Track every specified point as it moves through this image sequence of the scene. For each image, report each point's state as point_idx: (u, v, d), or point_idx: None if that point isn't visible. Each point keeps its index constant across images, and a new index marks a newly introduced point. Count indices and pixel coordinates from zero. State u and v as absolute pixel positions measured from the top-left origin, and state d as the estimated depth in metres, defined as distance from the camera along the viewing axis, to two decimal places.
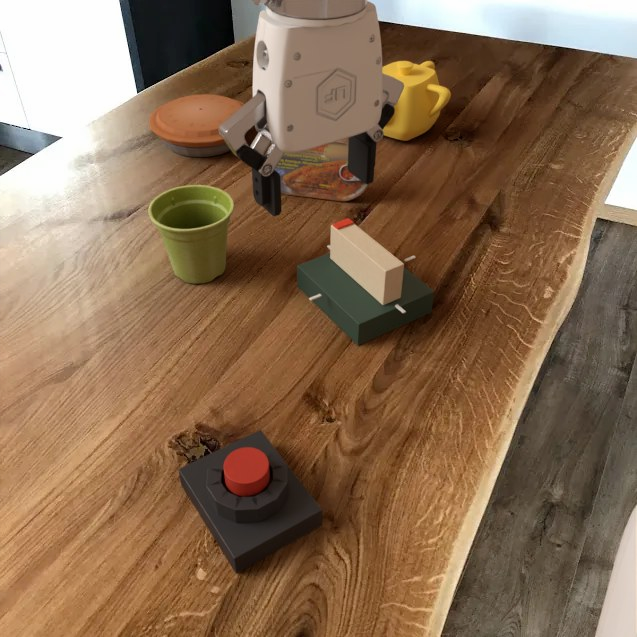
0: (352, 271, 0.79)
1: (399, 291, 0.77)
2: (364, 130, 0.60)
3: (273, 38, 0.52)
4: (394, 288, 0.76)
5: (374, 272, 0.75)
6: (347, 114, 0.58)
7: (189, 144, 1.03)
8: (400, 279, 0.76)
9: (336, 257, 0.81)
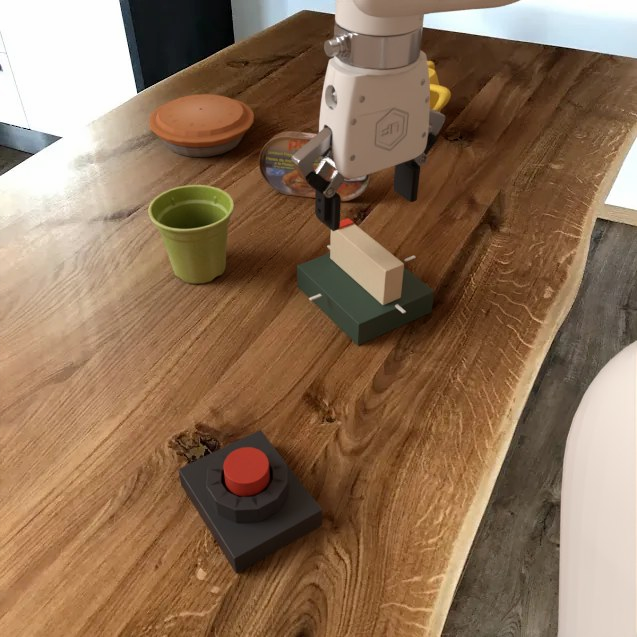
0: (352, 271, 0.79)
1: (399, 291, 0.77)
2: (412, 157, 0.70)
3: (342, 84, 0.62)
4: (394, 288, 0.76)
5: (374, 272, 0.75)
6: (399, 145, 0.68)
7: (189, 144, 1.03)
8: (400, 279, 0.76)
9: (336, 257, 0.81)
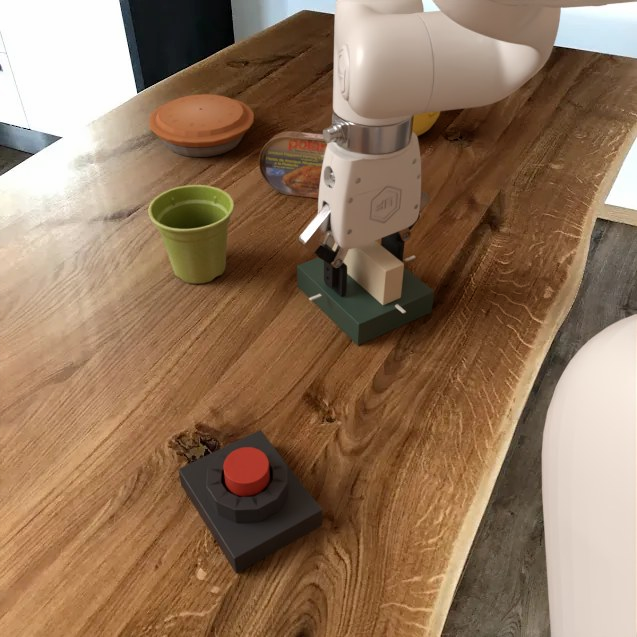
0: (352, 271, 0.79)
1: (399, 291, 0.77)
2: (405, 227, 0.75)
3: (339, 167, 0.67)
4: (394, 288, 0.76)
5: (374, 272, 0.75)
6: (393, 217, 0.73)
7: (189, 144, 1.03)
8: (400, 279, 0.76)
9: None
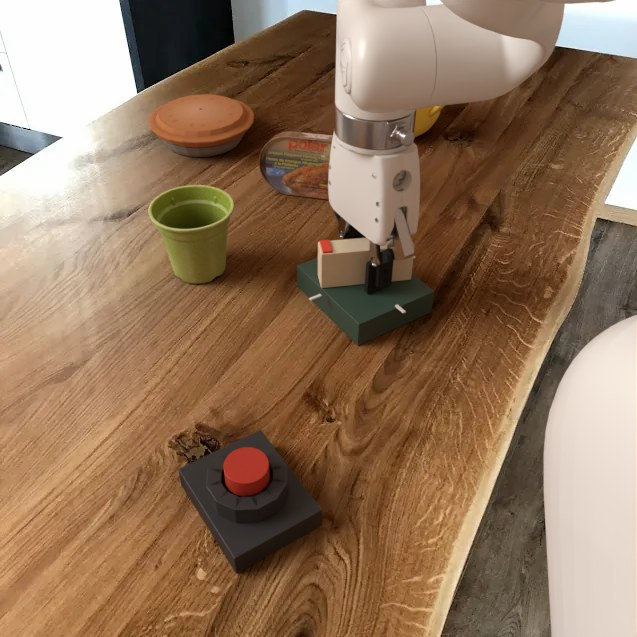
0: (361, 277, 0.79)
1: None
2: None
3: (413, 160, 0.67)
4: None
5: None
6: None
7: (189, 144, 1.03)
8: None
9: (333, 280, 0.78)
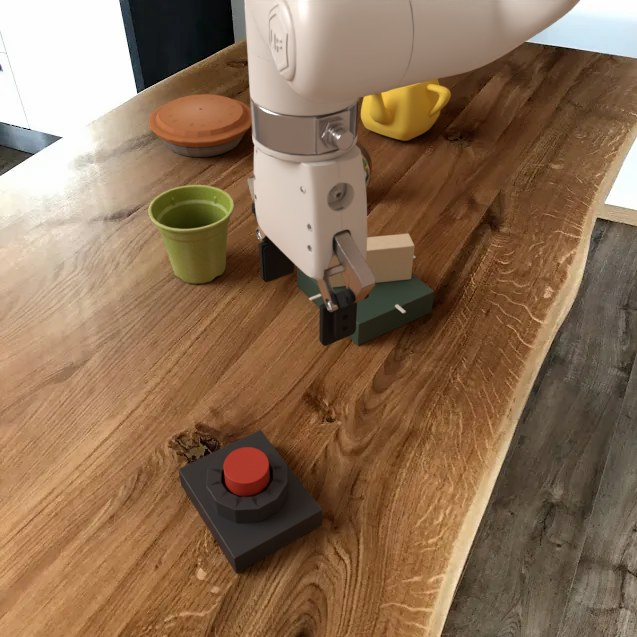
0: None
1: None
2: None
3: (355, 169, 0.50)
4: None
5: (398, 256, 0.78)
6: None
7: (189, 144, 1.03)
8: None
9: (333, 280, 0.78)
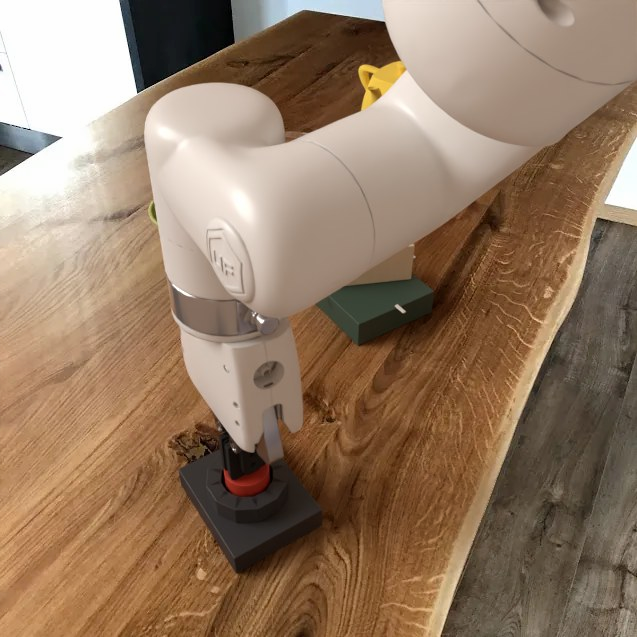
0: (362, 277, 0.79)
1: None
2: None
3: (284, 346, 0.45)
4: None
5: (398, 256, 0.78)
6: None
7: None
8: None
9: None
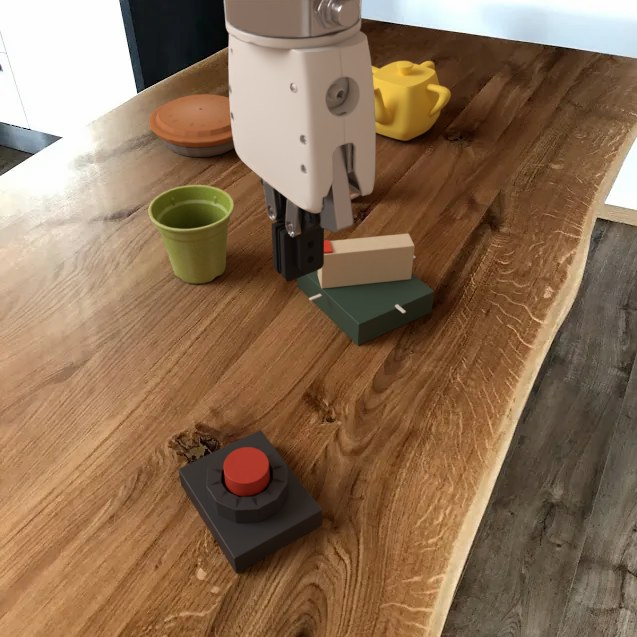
0: (362, 277, 0.79)
1: None
2: None
3: (360, 60, 0.39)
4: None
5: (398, 256, 0.78)
6: None
7: (189, 144, 1.03)
8: None
9: (333, 280, 0.78)
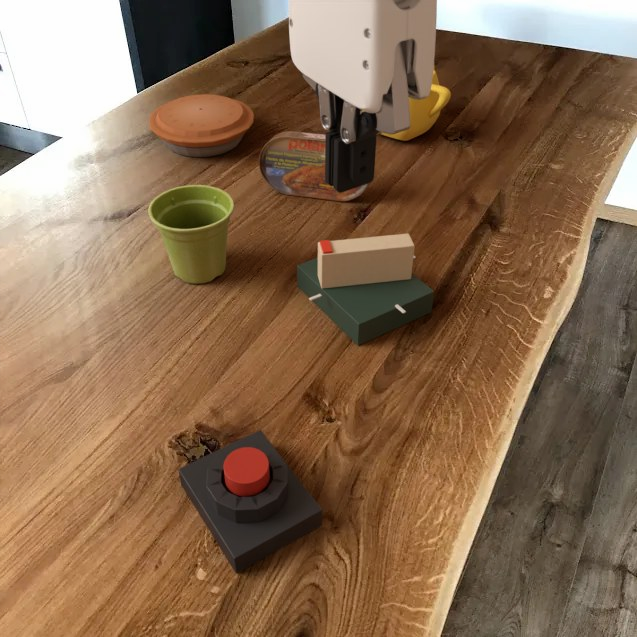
0: (362, 277, 0.79)
1: None
2: None
3: None
4: None
5: (398, 256, 0.78)
6: None
7: (189, 144, 1.03)
8: None
9: (333, 280, 0.78)
